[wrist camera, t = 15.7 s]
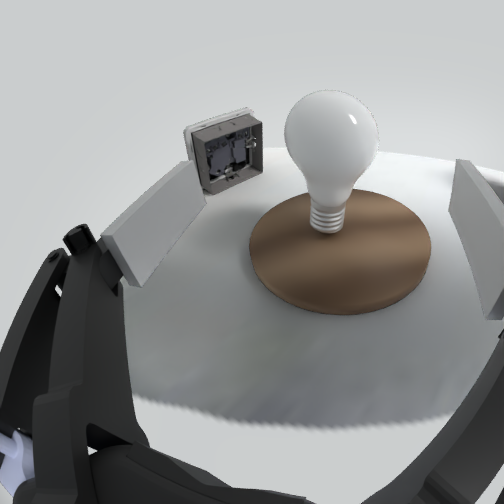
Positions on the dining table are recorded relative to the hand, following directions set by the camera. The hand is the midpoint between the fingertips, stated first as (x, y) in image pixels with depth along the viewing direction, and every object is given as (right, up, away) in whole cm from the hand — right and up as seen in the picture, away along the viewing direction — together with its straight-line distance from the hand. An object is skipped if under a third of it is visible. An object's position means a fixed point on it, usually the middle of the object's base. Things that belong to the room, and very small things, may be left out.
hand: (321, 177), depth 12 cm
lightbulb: (+3, -2, +10) cm, 10 cm away
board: (+4, -3, +10) cm, 11 cm away
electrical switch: (-5, +6, +23) cm, 25 cm away
